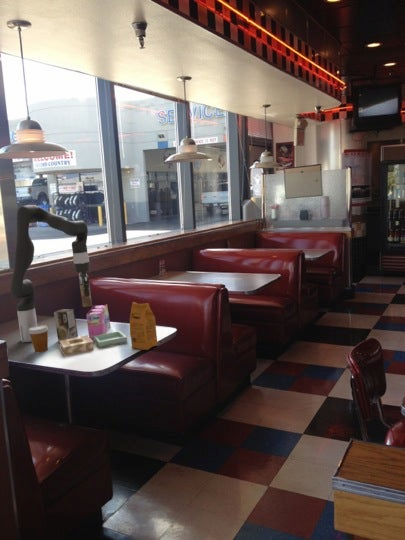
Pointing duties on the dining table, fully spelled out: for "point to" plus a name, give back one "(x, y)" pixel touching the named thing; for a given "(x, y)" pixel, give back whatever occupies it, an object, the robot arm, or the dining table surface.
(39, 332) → the disposable coffee cup
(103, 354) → the dining table surface
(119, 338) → the tray
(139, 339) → the coffee package
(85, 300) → the pin
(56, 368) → the dining table surface
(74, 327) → the coffee box
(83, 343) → the wooden square frame
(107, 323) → the gum box
